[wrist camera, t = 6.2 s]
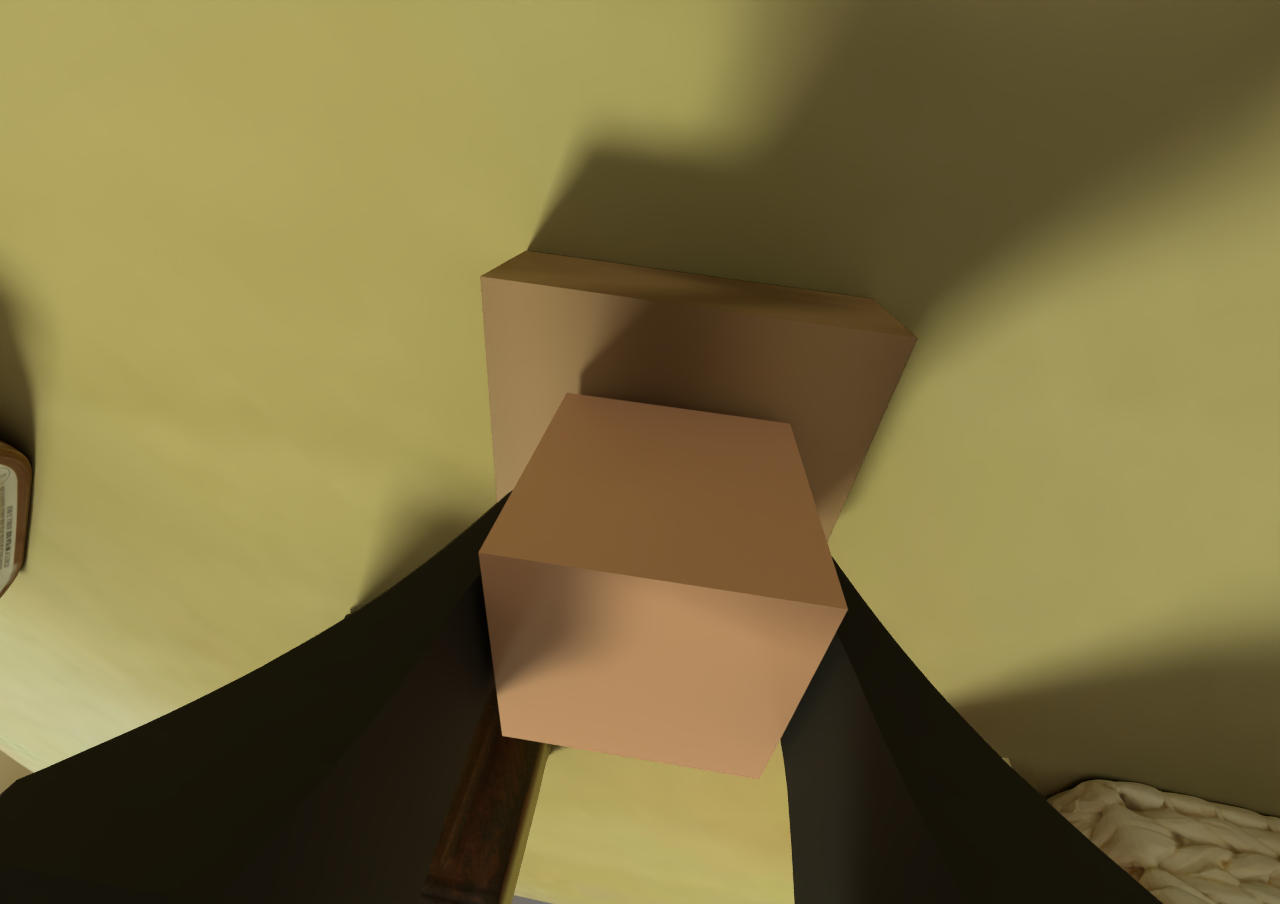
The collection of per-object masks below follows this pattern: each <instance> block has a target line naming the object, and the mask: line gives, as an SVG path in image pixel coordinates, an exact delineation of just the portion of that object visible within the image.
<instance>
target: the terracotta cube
mask: <svg viewBox="0 0 1280 904" xmlns="http://www.w3.org/2000/svg"><path fill="white" fill-rule="evenodd" d="M479 560H480V568H481V576H482V584H483V591H484V599H485V607H486V614H487V622H488V630H489V638H490V645H491V653H492V661H493V668H494V676H495V684H496V691H497V699H498V707H499V715H500V722H501V730H502V736H506V737H512V738H518V739H524V740H530V741H536V742H542V743H547V744H553V745H559V746H565V747H571V748H577V749H583V750H589V751H595V752H600V753H606V754H612V755H618V756H624V757H630V758H636V759H642V760H648V761H654V762H659V763H665V764H671V765H677V766H683V767H689V768H695V769H701V770H707V771H713V772H718V773H724V774H730V775H736V776H742V777H748V778H754V779H760V777H761V775H762V773H763V771H764V769H765V768H766V766H767V764H768V762H769V760H770V758H771V756H772V754H773V752H774V750H775V748H776V746H777V745H778V743H779V741H780V739H781V737H782V735H783V733H784V731H785V729H786V727H787V725H788V723H789V721H790V720H791V718H792V716H793V714H794V712H795V710H796V708H797V706H798V704H799V702H800V700H801V698H802V697H803V695H804V693H805V691H806V689H807V687H808V685H809V683H810V681H811V679H812V677H813V675H814V674H815V672H816V670H817V668H818V666H819V664H820V662H821V660H822V658H823V656H824V654H825V652H826V650H827V649H828V647H829V645H830V643H831V641H832V639H833V637H834V635H835V633H836V631H837V629H838V627H839V626H840V624H841V622H842V620H843V618H844V616H845V614H846V612H847V610H848V608H847V605H846V601H845V598H844V595H843V592H842V589H841V585H840V582H839V579H838V576H837V572H836V569H835V566H834V563H833V560H832V556H831V553H830V550H829V547H828V544H827V540H826V537H825V534H824V531H823V528H822V524H821V521H820V518H819V515H818V512H817V508H816V505H815V502H814V499H813V496H812V492H811V489H810V486H809V483H808V479H807V476H806V473H805V470H804V467H803V463H802V460H801V457H800V454H799V451H798V447H797V444H796V441H795V438H794V435H793V431H792V428H791V425H790V424H789V423H782V422H775V421H768V420H761V419H753V418H746V417H739V416H732V415H724V414H717V413H710V412H703V411H695V410H688V409H681V408H674V407H666V406H659V405H652V404H645V403H638V402H630V401H623V400H616V399H609V398H601V397H594V396H587V395H580V394H572V393H566V395H565V397H564V399H563V401H562V402H561V404H560V406H559V408H558V410H557V411H556V413H555V415H554V417H553V419H552V420H551V422H550V424H549V426H548V428H547V429H546V431H545V433H544V435H543V437H542V439H541V440H540V442H539V444H538V446H537V448H536V449H535V451H534V453H533V455H532V457H531V458H530V460H529V462H528V464H527V466H526V467H525V469H524V471H523V473H522V475H521V477H520V478H519V480H518V482H517V484H516V486H515V487H514V489H513V491H512V493H511V495H510V496H509V498H508V500H507V502H506V504H505V505H504V507H503V509H502V511H501V513H500V515H499V516H498V518H497V520H496V522H495V524H494V525H493V527H492V529H491V531H490V533H489V534H488V536H487V538H486V540H485V542H484V543H483V545H482V547H481V549H480V551H479Z"/></svg>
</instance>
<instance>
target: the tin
mask: <svg viewBox="0 0 1280 904" xmlns="http://www.w3.org/2000/svg"><path fill="white" fill-rule="evenodd" d="M31 480H32V470H31V465H30V463H29V460H28V459H27V458H26V456H24V455H23V454H22V453H21V452H20V451H18V450H17V449H15V448H13V447H12V446H10V445H8V444H6V443H4V442H2V441H0V598H1V597H2V595H3V594H4V593H5V592H6V591H7V589H8V588H9V587H10V585H11V584H12V582H13V581H14V579H15V578H16V576H17V575H18V572H19V570H20V568H21V566H22V562H23V557H24V545H25V537H26V528H27V519H28V509H29V499H30V489H31Z"/></svg>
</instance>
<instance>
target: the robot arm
mask: <svg viewBox="0 0 1280 904" xmlns="http://www.w3.org/2000/svg"><path fill="white" fill-rule="evenodd" d="M512 491H513V490H512ZM512 491H511V492H509V493H508V494H507V495H505V496H504V497H503V498H502V499H501V500H500V501H499V502H497V503H496V504H495V505H494V506H493V507H492V508H491V509H489V510H488V511H487V512H486V513H485V514H484V515H483V516H481V517H480V518H479V519H478V520H477V521H476V522H474V523H473V524H472V525H471V526H470V527H469V528H467V529H466V530H465V531H464V532H463V533H461V534H460V535H459V536H458V537H456V538H455V539H454V540H453V541H452V542H450V543H449V544H448V545H447V546H445V547H444V548H443V549H442V550H440V551H439V552H438V553H437V554H435V555H434V556H433V557H432V558H430V559H429V560H428V561H426V562H425V563H424V564H422V565H421V566H420V567H418V568H417V569H416V570H414V571H413V572H412V573H410V574H409V575H408V576H406V577H405V578H403V579H402V580H401V581H399V582H398V583H397V584H395V585H394V586H393V587H391V588H390V589H388V590H387V591H385V592H384V593H383V594H381V595H380V596H378V597H377V598H375V599H374V600H372V601H371V602H369V603H368V604H366V605H365V606H363V607H362V608H360V609H359V610H357V611H356V612H354V613H352V614H351V615H349V616H348V617H346V618H345V619H343V620H341V621H340V622H338V623H337V624H335V625H333V626H332V627H330V628H328V629H327V630H325V631H323V632H322V633H320V634H318V635H317V636H315V637H313V638H311V639H310V640H308V641H306V642H305V643H303V644H301V645H299V646H297V647H296V648H294V649H292V650H290V651H289V652H287V653H285V654H283V655H281V656H280V657H278V658H276V659H274V660H273V661H271V662H269V663H267V664H265V665H264V666H262V667H260V668H258V669H256V670H254V671H252V672H251V673H249V674H247V675H245V676H243V677H241V678H239V679H237V680H235V681H233V682H231V683H229V684H227V685H225V686H223V687H221V688H219V689H217V690H215V691H213V692H211V693H209V694H207V695H205V696H203V697H201V698H199V699H197V700H195V701H193V702H191V703H189V704H187V705H185V706H183V707H181V708H178V709H176V710H174V711H172V712H170V713H168V714H166V715H164V716H162V717H160V718H157V719H155V720H153V721H151V722H149V723H147V724H144V725H142V726H140V727H138V728H136V729H133V730H131V731H129V732H127V733H124V734H122V735H120V736H117V737H115V738H113V739H111V740H108V741H106V742H104V743H101V744H99V745H97V746H95V747H92V748H90V749H88V750H86V751H83V752H81V753H79V754H76V755H74V756H72V757H70V758H67V759H65V760H63V761H60V762H58V763H56V764H54V765H51V766H49V767H47V768H44V769H42V770H40V771H37V772H35V773H32V774H30V775H28V776H25V777H23V778H21V779H18V780H16V781H15V782H14V783H13V784H12V785H11V786H10V787H8V788H7V789H6V790H5V791H4V792H3V793H1V795H0V904H418V902H419V899H420V896H421V893H422V889H423V886H424V883H425V880H426V877H427V873H428V870H429V867H430V864H431V861H432V857H433V854H434V851H435V848H436V845H437V842H438V839H439V836H440V832H441V829H442V826H443V823H444V820H445V817H446V814H447V811H448V808H449V805H450V802H451V799H452V796H453V793H454V790H455V787H456V784H457V781H458V778H459V775H460V772H461V769H462V766H463V763H464V760H465V757H466V755H467V752H468V749H469V746H470V743H471V740H472V737H473V734H474V731H475V729H476V726H477V724H478V721H479V719H480V716H481V714H482V711H483V709H484V706H485V704H486V702H487V700H488V697H489V695H490V693H491V691H492V688H493V686H494V684H495V676H494V668H493V661H492V653H491V645H490V638H489V630H488V622H487V614H486V607H485V599H484V591H483V584H482V576H481V568H480V560H479V551H480V549H481V547H482V545H483V543H484V542H485V540H486V538H487V536H488V534H489V533H490V531H491V529H492V527H493V525H494V524H495V522H496V520H497V518H498V516H499V515H500V513H501V511H502V509H503V507H504V505H505V504H506V502H507V500H508V498H509V496H510V495H511V493H512ZM832 560H833V563H834V566H835V569H836V572H837V576H838V579H839V582H840V585H841V589H842V592H843V595H844V598H845V601H846V605H847V608H848V610H847V612H846V614H845V616H844V618H843V620H842V622H841V624H840V626H839V627H838V629H837V631H836V633H835V635H834V637H833V639H832V641H831V643H830V645H829V647H828V649H827V650H826V652H825V654H824V656H823V658H822V660H821V662H820V664H819V666H818V668H817V670H816V672H815V674H814V675H813V677H812V679H811V681H810V683H809V685H808V687H807V689H806V691H805V693H804V695H803V697H802V698H801V700H800V702H799V704H798V706H797V708H796V710H795V712H794V714H793V716H792V718H791V720H790V721H789V723H788V725H787V727H786V729H785V731H784V733H783V735H782V737H781V739H780V740H781V746H782V752H783V758H784V765H785V773H786V781H787V790H788V804H789V818H790V832H791V846H792V863H793V881H794V899H795V904H1163V903H1162V902H1161V901H1160V900H1158V899H1157V898H1156V897H1155V896H1154V895H1153V894H1151V893H1150V892H1149V891H1148V890H1147V889H1146V888H1144V887H1143V886H1142V885H1141V884H1140V883H1139V882H1137V881H1136V880H1135V879H1134V878H1133V877H1132V876H1131V875H1129V874H1128V873H1127V872H1126V871H1125V870H1124V869H1122V868H1121V867H1120V866H1119V865H1118V864H1117V863H1115V862H1114V861H1113V860H1112V859H1111V858H1110V857H1108V856H1107V855H1106V854H1105V853H1104V852H1103V851H1101V850H1100V849H1099V848H1098V847H1097V846H1096V845H1095V844H1094V843H1092V842H1091V841H1090V840H1089V839H1088V838H1087V837H1086V836H1085V835H1084V834H1082V833H1081V832H1080V831H1079V830H1078V829H1077V828H1076V827H1075V826H1073V825H1072V824H1071V823H1070V822H1069V821H1068V820H1067V819H1066V818H1065V817H1063V816H1062V815H1061V814H1060V813H1059V812H1058V811H1057V810H1056V809H1055V808H1054V807H1053V806H1052V805H1051V804H1050V803H1049V802H1047V801H1046V800H1045V799H1044V798H1043V797H1042V796H1041V795H1040V794H1039V793H1038V792H1037V791H1036V790H1035V789H1034V788H1033V787H1032V786H1031V785H1029V784H1028V783H1027V782H1026V781H1025V780H1024V779H1023V778H1022V777H1021V776H1020V775H1019V774H1018V773H1017V772H1016V771H1015V770H1014V769H1013V768H1012V767H1011V766H1009V765H1008V764H1007V763H1006V762H1005V761H1004V760H1003V759H1002V758H1001V757H1000V756H999V755H998V754H997V753H996V752H995V751H994V750H993V749H992V748H991V747H990V746H989V745H988V744H987V743H986V742H985V741H984V740H983V738H982V737H981V736H980V735H979V734H978V733H977V732H976V731H975V730H974V729H973V728H972V727H971V726H970V725H969V724H968V723H967V722H966V721H965V720H964V719H963V717H962V716H961V715H960V714H959V713H958V712H957V711H956V710H955V709H954V708H953V707H952V706H951V705H950V704H949V703H948V702H947V701H946V699H945V698H944V697H943V696H942V695H941V694H940V693H939V692H938V691H937V689H936V688H935V687H934V686H933V685H932V684H931V683H930V682H929V680H928V679H927V678H926V677H925V676H924V674H923V673H922V672H921V671H920V670H919V669H918V667H917V666H916V665H915V664H914V663H913V662H912V660H911V659H910V658H909V657H908V656H907V654H906V653H905V652H904V651H903V650H902V648H901V647H900V646H899V645H898V643H897V642H896V641H895V640H894V639H893V637H892V636H891V635H890V634H889V632H888V631H887V630H886V629H885V627H884V626H883V625H882V623H881V622H880V621H879V620H878V618H877V617H876V616H875V614H874V613H873V612H872V610H871V609H870V608H869V606H868V605H867V604H866V602H865V601H864V600H863V598H862V597H861V596H860V594H859V593H858V592H857V590H856V589H855V588H854V586H853V585H852V583H851V582H850V581H849V579H848V578H847V577H846V575H845V574H844V572H843V571H842V570H841V568H840V567H839V565H838V564H837V563H836V561H835V560H834V558H833V557H832Z"/></svg>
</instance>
